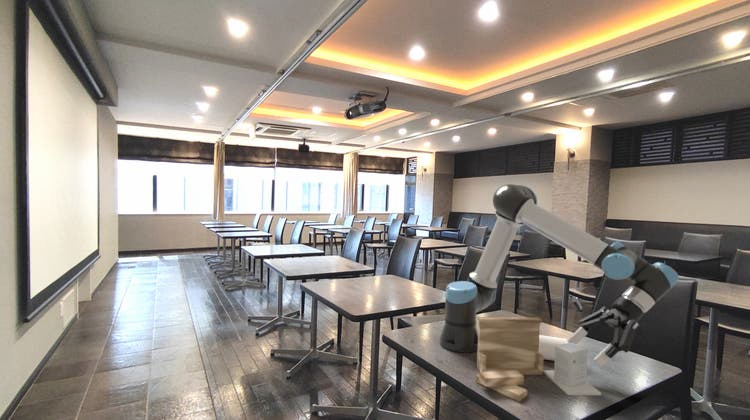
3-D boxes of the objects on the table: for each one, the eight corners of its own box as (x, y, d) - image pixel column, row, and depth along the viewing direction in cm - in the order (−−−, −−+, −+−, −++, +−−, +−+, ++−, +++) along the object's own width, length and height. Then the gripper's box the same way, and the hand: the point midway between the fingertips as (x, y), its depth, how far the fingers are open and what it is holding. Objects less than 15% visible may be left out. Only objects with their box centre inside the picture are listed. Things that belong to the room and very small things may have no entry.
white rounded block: (571, 367, 122) (572, 344, 122) (538, 362, 126) (539, 339, 126) (566, 353, 133) (567, 332, 133) (537, 349, 137) (538, 328, 137)
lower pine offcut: (475, 383, 111) (475, 375, 111) (483, 379, 114) (484, 371, 114) (519, 404, 100) (519, 395, 100) (526, 398, 103) (527, 390, 103)
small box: (570, 374, 116) (571, 341, 116) (587, 382, 111) (588, 348, 111) (553, 378, 113) (554, 345, 112) (569, 387, 108) (570, 352, 107)
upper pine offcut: (485, 386, 104) (485, 378, 104) (479, 379, 108) (479, 372, 108) (523, 384, 106) (523, 376, 106) (516, 377, 110) (516, 369, 110)
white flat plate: (543, 372, 118) (543, 370, 118) (572, 372, 119) (572, 370, 119) (567, 395, 104) (567, 393, 104) (601, 395, 105) (601, 393, 105)
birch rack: (476, 367, 120) (477, 316, 120) (536, 367, 121) (538, 317, 121) (480, 374, 116) (482, 321, 115) (543, 374, 117) (545, 322, 116)
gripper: (675, 327, 99) (620, 381, 99) (612, 301, 124) (567, 344, 123) (657, 308, 98) (601, 362, 98) (597, 286, 123) (553, 329, 123)
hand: (582, 352), depth 111 cm, fingers open, 13 cm apart
